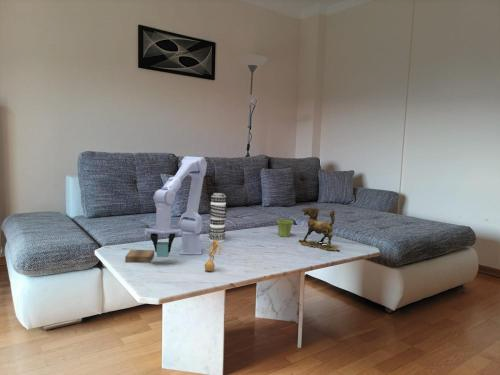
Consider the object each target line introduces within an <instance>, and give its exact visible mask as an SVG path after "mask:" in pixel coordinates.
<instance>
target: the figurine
mask: <svg viewBox="0 0 500 375" xmlns="http://www.w3.org/2000/svg"><path fill="white" fill-rule="evenodd" d="M302 212H303V215H304V216H306V215H307V216H308V217H309V218H308V221H307V227H308V228H307V232H306V234H305V236H304V238H303V239H298V243H300V244H301V245H302V246H305V247H306V246H307V247H309V248H315V249H316V248H317V249H320V250H323V251H328V252H337V253H338V252H340V250H341V249H339V247H335V246H332V242H331V241H332V239H333V234H332V232H333V231H334V223H335V220H336V218H335V213H336V211H335V210H334V209H332V210H331V211H330V213H329V217H330V220H331V221H330V222H328V221H319V220H318V215H319V213H320V210H319V208H317V207H316V206H314V207H311V206H310V207H307V208H302ZM313 232H315V233H316V234H317V235H323V237H322V238H321V239H320V240H319V241H318V242H315V241H312V240H310V241H308V240H307V239H308V236H310V235H311V234H312V233H313ZM326 238H327V239H328V240H327V242H324V241H325V239H326ZM319 242H322V243H319ZM322 244H327V245H322ZM338 249H339V250H338Z"/></svg>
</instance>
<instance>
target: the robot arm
mask: <svg viewBox="0 0 500 375" xmlns="http://www.w3.org/2000/svg"><path fill="white" fill-rule="evenodd" d="M180 165H181V166H180V167H179V169H178V170H177V172H176V174H175V175H174V176H171V177H168V180H167V181H166V182H165V183H164V185H162V187H161V188H160V189H157V190H156V191H155V192H154V195H153V202H154V205H155V208H156V213H155V214H156V218H155V219H156V220H155V221H156V222H155V228H145V229H144V235H150V237H149V238H150V240H151V241H152V244H153V246H154V253H157V243H158V242H159V241H158V239H159V235H168V242H169V247H168V252H169V253H171V248H172V245H173V242H174V240H175V238H176V236H181V249H180V252H179V254H180V255H198V256H200V255H202V251H203V233H200V232H202V229H203V217H202V216H201V215H200V214H199V207H200V202H201V201H200V200H201V195H202V190H203V189H202V188H203V183H204V177H205V176H206V172H207V167H208V163H207V161H206V158H205V156H188V155H185V156H184V157H183V158H182V159H181V164H180ZM188 175H189V176H190V178H191V183H190V187H189V193H188V198H187V206H186V211H185V212H184V213H182V214H181V216H180V218H179V221H178V223H177V224H178V225H177V227H178V228H171V226H172V225H171V223H172V222H171V220H172V204H173V203H174V201H175V197H176V193H177V192H178V191H179V190H180V188H181V187H182V181H183V180H184V179H185V178H186V176H188Z"/></svg>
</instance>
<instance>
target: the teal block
mask: <svg viewBox="0 0 500 375" xmlns="http://www.w3.org/2000/svg"><path fill="white" fill-rule="evenodd" d="M168 247H169V241H158V243H157V252H155V253H156V256H155V257H156V258H169V255H170V252H168Z"/></svg>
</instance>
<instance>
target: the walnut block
mask: <svg viewBox="0 0 500 375" xmlns="http://www.w3.org/2000/svg"><path fill="white" fill-rule="evenodd" d="M154 257H155V249H130V250H129V252H128V253H127V254H126V255H125V263H129V264H130V263H131V264H132V263H135V264H136V263H139V264H140V263H142V264H143V263H145V264H146V263H148V264H150V263H152V260H153V259H154Z"/></svg>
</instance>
